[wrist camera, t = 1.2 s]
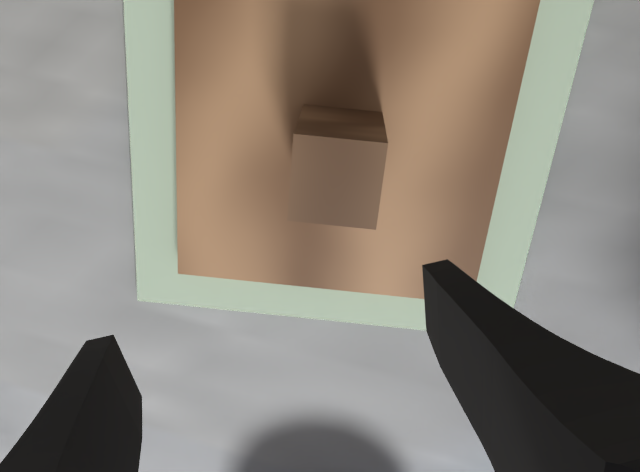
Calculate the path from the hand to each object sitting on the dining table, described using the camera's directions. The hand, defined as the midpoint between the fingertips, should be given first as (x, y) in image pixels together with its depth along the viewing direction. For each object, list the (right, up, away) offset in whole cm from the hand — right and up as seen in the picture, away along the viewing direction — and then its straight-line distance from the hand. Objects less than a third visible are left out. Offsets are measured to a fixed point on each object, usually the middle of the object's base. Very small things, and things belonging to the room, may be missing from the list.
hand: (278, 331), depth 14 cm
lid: (+2, +6, +9) cm, 11 cm away
